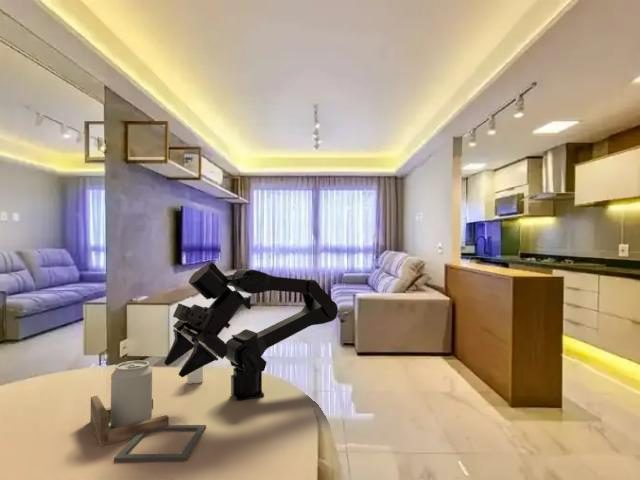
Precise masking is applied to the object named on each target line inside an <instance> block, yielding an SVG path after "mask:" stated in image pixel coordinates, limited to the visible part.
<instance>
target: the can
mask: <svg viewBox="0 0 640 480" xmlns="http://www.w3.org/2000/svg"><path fill="white" fill-rule="evenodd" d="M149 365H150V362H149V361H148V360H139V359H138V360H129V361H123V362H121V363H118V364H116V365H115V367H114V371H113V372H111V374H110V375H111V376H110V379H111V380H110V381H111V382H110V407H111V419H110V421H109V425H111V426H112V427H113V428H118V427H122V426H126V425H130V424H134V423H138V422H142V421H145V420H149V419H153V418H152V417H153V409H152V399H153V368H151V366H149Z"/></svg>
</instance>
